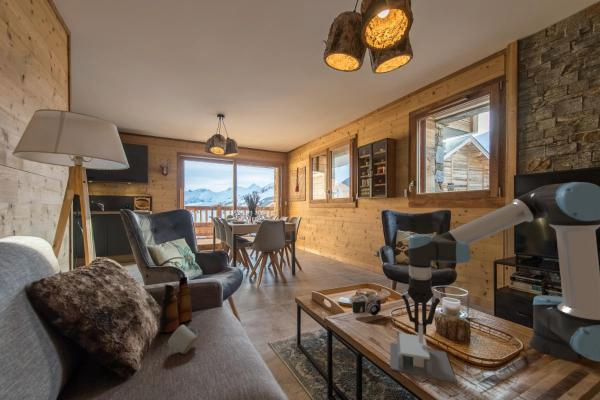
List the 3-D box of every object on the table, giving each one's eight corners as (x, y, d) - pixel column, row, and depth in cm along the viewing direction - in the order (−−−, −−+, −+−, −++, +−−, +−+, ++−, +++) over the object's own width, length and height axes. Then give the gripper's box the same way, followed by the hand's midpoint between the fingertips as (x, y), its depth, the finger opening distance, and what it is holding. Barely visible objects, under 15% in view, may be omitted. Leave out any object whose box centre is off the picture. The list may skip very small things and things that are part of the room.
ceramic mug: (182, 359, 97) (186, 349, 93) (165, 346, 98) (169, 335, 94) (201, 336, 106) (206, 326, 102) (186, 324, 107) (189, 314, 103)
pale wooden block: (420, 353, 98) (420, 344, 98) (423, 367, 89) (423, 358, 89) (411, 351, 99) (411, 342, 99) (413, 365, 90) (413, 356, 90)
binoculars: (181, 313, 132) (181, 274, 132) (195, 315, 130) (195, 275, 130) (154, 331, 114) (154, 286, 114) (170, 333, 112) (171, 288, 112)
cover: (424, 338, 100) (424, 336, 100) (429, 359, 86) (429, 357, 86) (399, 334, 103) (399, 332, 103) (400, 354, 89) (400, 352, 89)
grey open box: (445, 353, 98) (445, 338, 98) (456, 383, 82) (456, 364, 82) (390, 343, 105) (390, 329, 105) (390, 369, 89) (390, 352, 89)
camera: (357, 318, 128) (357, 298, 128) (350, 311, 136) (350, 292, 136) (386, 315, 131) (386, 295, 131) (377, 308, 140) (377, 290, 140)
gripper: (438, 275, 95) (438, 339, 95) (400, 272, 99) (400, 333, 99) (442, 281, 88) (442, 350, 88) (401, 278, 92) (401, 343, 92)
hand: (420, 341), depth 94 cm, fingers closed
